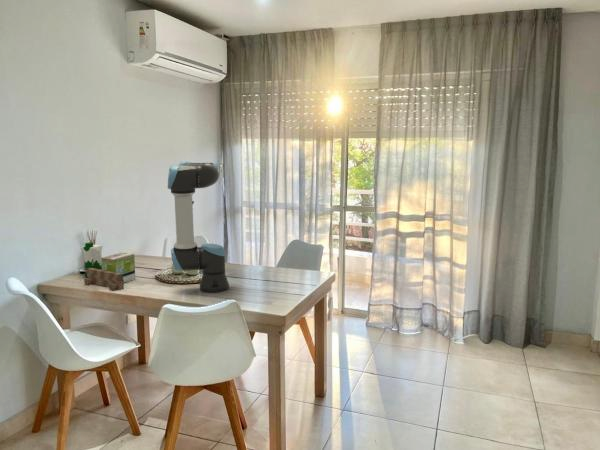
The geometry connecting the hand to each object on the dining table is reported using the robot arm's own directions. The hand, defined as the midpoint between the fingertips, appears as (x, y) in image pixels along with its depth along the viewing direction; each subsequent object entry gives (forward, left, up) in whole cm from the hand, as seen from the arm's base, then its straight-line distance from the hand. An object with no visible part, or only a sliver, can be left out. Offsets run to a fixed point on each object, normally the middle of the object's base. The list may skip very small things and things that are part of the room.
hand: (183, 228), depth 277 cm
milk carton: (+37, +34, -26) cm, 57 cm away
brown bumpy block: (+16, +45, -26) cm, 54 cm away
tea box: (+17, +34, -26) cm, 46 cm away
